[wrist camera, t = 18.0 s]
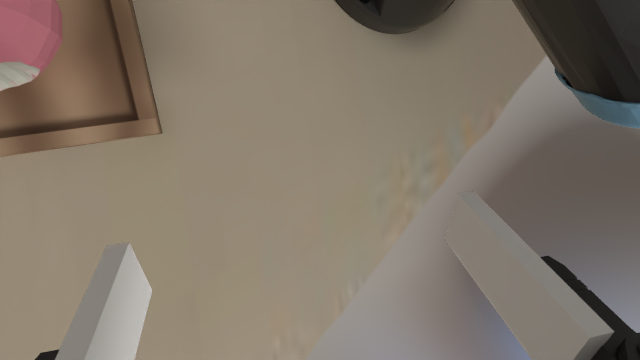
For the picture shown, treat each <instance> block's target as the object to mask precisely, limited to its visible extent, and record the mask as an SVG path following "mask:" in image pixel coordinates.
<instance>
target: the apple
mask: <svg viewBox="0 0 640 360" xmlns="http://www.w3.org/2000/svg"><path fill="white" fill-rule="evenodd" d="M62 42H63V38H62V12H61V10H60V8H59V5H58V3H57V2H56V0H0V91H2V90H4V89H7V88H10V87H16V86H20V85H22V84H24V83H27V82H31V81H32V80H33V79H35V78H36V77H37V76H38V75H39V74H40V73H41V72H42V71H43V70H44V69H45V68H46V67H47V66H48V65H49V64H50V62H51V61H52V59H53V57H54V56H55V54H56V52H57V50H58V49H59V47H60V45H61V43H62Z"/></svg>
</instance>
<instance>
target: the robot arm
mask: <svg viewBox="0 0 640 360" xmlns="http://www.w3.org/2000/svg"><path fill="white" fill-rule="evenodd" d="M512 1H513V2H514V4H515V5H516V7H517V9H518V10H519V12H520V13H521V15H522V16H523V18H524V20H525V21H526V23H527V24H528V26H529V28H530V29H531V31H532V32H533V34H534V35H535V37H536V39H537V40H538V42H539V43H540V45H541V46H542V48H543V50H544V51H545V53H546V54H547V56H548V57H549V59H550V61H551V62H552V64H553V65H554V67H555V73H556V75H557V77H558V79H559V80H560V81H561V82H562V83H563V85H565V86H566V87H567V88H568V89H570V90H571V91H572V92H573V94H574V95H575V96H576V98H577V99H578V100H579V102H580V103H581V104H582V106H583V107H584V108H585V109H586V110H588V111H589V112H590V113H592V114H594V115H596V116H597V117H599V118H601V119H602V120H605V121H607V122H610V123H613V124H617V125H621V126H626V127H633V128H640V0H512ZM337 2H338V3H339V4H340V6H341V7H342V8H343V9H344V10H345V11H346V12H347V13H348V14H349V15H350V16H351V17H352V18H354V19H355V20H356V21H358V22H359V23H361V24H362V25H364V26H366V27H368V28H370V29H372V30H375V31H378V32H382V33H388V34H402V33H407V32H411V31H414V30H416V29H418V28H420V27H422V26H424V25H426V24H428V23H430V22H431V21H433V20H435V19H436V18H438V17H439V16H440V15H441V14H443V13H444V12H445V11H446V10H447V9H448V8H449V7H450V6H451V4H452V3H453V2H454V0H337ZM445 241H446V242H447V243H448V245H449V246H450V248H451V249H452V250H453V252H454V253H455V255H456V256H457V257H458V259H459V260H460V261H461V263H462V264H463V266H464V267H465V268H466V270H467V271H468V272H469V274H470V275H471V276H472V278H473V279H474V281H475V282H476V283H477V285H478V286H479V288H480V289H481V290H482V292H483V293H484V294H485V296H486V297H487V299H488V300H489V301H490V303H491V304H492V305H493V307H494V308H495V309H496V311H497V312H498V314H499V315H500V316H501V318H502V319H503V321H504V322H505V323H506V325H507V326H508V327H509V329H510V330H511V332H512V333H513V334H514V336H515V337H516V338H517V340H518V341H519V343H520V344H521V345H522V346H523V348H524V349H525V350H526V352H527V353H528V355H529V356H530V358H531V359H532V360H640V333H636V332H635V331H633V330H632V329H631V328H630V327H629V326H628V325H626V324H625V323H624V322H623V321H622V320H621V319H620V318H619V317H618V316H617V315H616V314H615V313H614V312H613V311H612V310H611V309H609V307H608V306H606V305H605V304H604V303H603V302H602V301H601V300H600V299H599V298H598V297H597V296H596V295H595V294H594V293H593V292H592V291H591V290H588V289H587V287H586V286H585V285H584V284H583V283H582V282H581V281H580V280H577V277H576V276H575V275H574V274H573V273H572V272H571V271H569V270H568V269H567V268H566V267H565V266H564V265H563V264H561V263H559V262H558V261H556V260H554V259H553V258H551V257H549V256H544V257H539V256H538V255H537V254H536V253H535V252H534V251H533V250H532V249H531V248H530V247H529V246H528V245H527V244H526V243H525V242H524V241H523V240H522V239H521V238H520V237H519V236H518V235H517V234H516V233H515V232H514V231H513V230H512V229H511V228H510V227H509V226H508V225H507V224H506V223H505V222H504V221H503V220H502V219H501V218H500V217H499V216H498V215H497V214H496V213H495V212H494V211H493V210H492V209H491V208H490V207H489V206H488V205H487V204H486V203H485V202H484V201H483V200H482V199H481V198H480V197H479V196H478V195H477V194H476V193H475V192H474V191H467V192H461V193H457V194H456V198H455V202H454V206H453V210H452V214H451V218H450V222H449V226H448V230H447V234H446V238H445ZM151 293H152V289H151V287H150V285H149V283H148V281H147V279H146V277H145V275H144V272H143V270H142V268H141V266H140V264H139V262H138V260H137V258H136V256H135V254H134V252H133V249H132V247H131V245H130V243H129V242H128V243H122V244H115V245H108V246H106V248H105V251H104V253H103V255H102V257H101V259H100V262H99V264H98V266H97V268H96V270H95V273H94V275H93V277H92V279H91V281H90V284H89V286H88V288H87V290H86V292H85V295H84V297H83V299H82V301H81V303H80V306H79V308H78V310H77V312H76V314H75V317H74V319H73V321H72V323H71V325H70V328H69V330H68V332H67V334H66V336H65V339H64V341H63V343H62V345H61V347H60V349H59V350H54V351H48V352H43V353H40V354H39V356H38V357H37V358H36V359H35V360H134V359H135V355H136V351H137V347H138V343H139V340H140V336H141V332H142V328H143V324H144V320H145V316H146V312H147V309H148V305H149V301H150V297H151Z"/></svg>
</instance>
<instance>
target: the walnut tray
mask: <svg viewBox="0 0 640 360" xmlns="http://www.w3.org/2000/svg"><path fill="white" fill-rule="evenodd" d="M56 2H57V3H58V5H59V8H60V10H61V12H62V38H63V42H62V43H61V45H60V47H59V49H58V50H57V52H56V54H55V56H54V57H53V59H52V61H51V62H50V64H49V65H48V66H47V67H46V68H45V69H44V70H43V71H42V72H41V73H40V74H39V75H38V76H37V77H36V78H35V79H33V80H32V81H31V82H27V83H24V84H22V85H20V86H16V87H10V88H7V89H4V90H2V91H0V157H3V156H10V155H17V154H24V153H30V152H37V151H44V150H51V149H58V148H65V147H72V146H79V145H86V144H93V143H99V142H106V141H113V140H120V139H127V138H134V137H141V136H148V135H155V134H162V129H161V125H160V120H159V116H158V112H157V107H156V103H155V99H154V94H153V90H152V86H151V81H150V77H149V72H148V68H147V64H146V59H145V55H144V51H143V46H142V42H141V38H140V33H139V29H138V25H137V20H136V16H135V12H134V7H133V3H132V0H56Z"/></svg>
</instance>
